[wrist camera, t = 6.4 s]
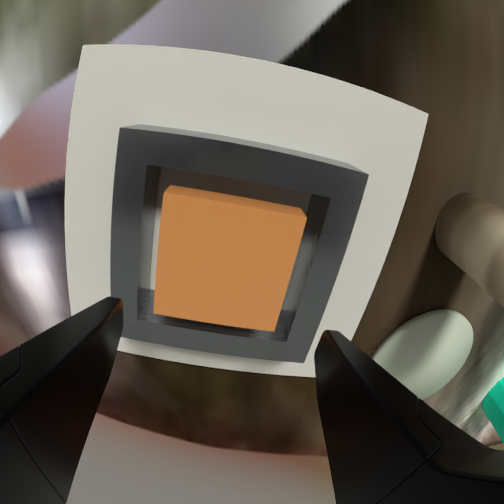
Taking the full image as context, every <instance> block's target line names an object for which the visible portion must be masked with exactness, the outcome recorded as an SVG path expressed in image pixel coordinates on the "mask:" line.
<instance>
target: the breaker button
mask: <svg viewBox="0 0 504 504" xmlns="http://www.w3.org/2000/svg"><path fill="white" fill-rule="evenodd" d="M306 220H307V217H306V216H305V214H304V212H303V211H302V209H301V208H298V207H293V206H288V205H283V204H278V203H273V202H267V201H262V200H257V199H251V198H246V197H240V196H235V195H229V194H223V193H218V192H212V191H206V190H200V189H194V188H187V187H181V186H175V185H170V186H169V187H168V188H167V189H166V191H165V192H164V195H163V203H162V211H161V221H160V230H159V241H158V252H157V264H156V278H155V293H154V314H159V315H165V316H170V317H176V318H182V319H188V320H194V321H200V322H207V323H213V324H220V325H227V326H234V327H241V328H249V329H256V330H264V331H272V332H274V331H275V327H276V324H277V321H278V317H279V314H280V311H281V308H282V304H283V301H284V298H285V294H286V291H287V287H288V284H289V281H290V277H291V274H292V270H293V267H294V263H295V260H296V256H297V253H298V249H299V246H300V242H301V238H302V235H303V231H304V227H305V224H306Z"/></svg>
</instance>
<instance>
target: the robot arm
mask: <svg viewBox="0 0 504 504" xmlns="http://www.w3.org/2000/svg"><path fill="white" fill-rule="evenodd" d="M122 330H123V301H122V299H120V298H116V297H111V296H108V297H106V298H104V299H102V300H100V301H98V302H97V303H95V304H93V305H91V306H89V307H87V308H86V309H84V310H82V311H80V312H78V313H76V314H75V315H73V316H71V317H69V318H67V319H66V320H64V321H62V322H60V323H58V324H57V325H55V326H53V327H51V328H49V329H48V330H46V331H44V332H42V333H40V334H39V335H37V336H35V337H33V338H32V339H30V340H28V341H26V342H25V343H23V344H21V345H20V347H18V346H17V347H16V348H14V349H12V350H10V351H9V352H7V353H5V354H3V355H1V356H0V504H66V502H67V499H68V495H69V492H70V488H71V485H72V482H73V478H74V475H75V472H76V469H77V466H78V463H79V460H80V457H81V453H82V451H83V448H84V445H85V442H86V439H87V436H88V433H89V430H90V428H91V425H92V422H93V419H94V417H95V414H96V411H97V409H98V406H99V403H100V401H101V398H102V395H103V393H104V390H105V388H106V385H107V383H108V380H109V377H110V374H111V371H112V367H113V363H114V359H115V356H116V352H117V348H118V345H119V341H120V338H121V334H122ZM314 364H315V376H316V389H317V401H318V407H319V412H320V417H321V422H322V428H323V433H324V438H325V443H326V449H327V454H328V459H329V464H330V470H331V476H332V482H333V487H334V493H335V499H336V504H504V450H496V449H492V448H489V447H487V446H485V445H483V444H482V443H480V442H479V441H477V440H476V439H474V438H473V437H471V436H470V435H468V434H467V433H465V432H464V431H463V430H461V429H460V428H458V427H457V426H455V425H454V424H452V423H451V422H450V421H448V420H447V419H445V418H444V417H443V416H441V415H440V414H439V413H437V412H436V411H435V410H434V409H432V408H431V407H430V406H428V405H427V404H426V403H425V402H424V401H422V400H421V399H420V398H418V397H417V396H416V395H415V394H414V393H413V392H411V391H410V390H409V389H408V388H407V387H405V386H404V385H403V384H402V383H401V382H399V381H398V380H397V379H396V378H395V377H393V376H392V375H391V374H390V373H389V372H387V371H386V370H385V369H384V368H382V367H381V366H380V365H379V364H378V363H376V362H375V361H374V360H373V359H372V358H370V357H369V356H368V355H367V354H366V353H364V352H363V351H362V350H361V349H360V348H358V347H357V346H356V345H355V344H354V343H352V342H351V341H350V340H349V339H348V338H346V337H345V336H344V335H343V334H342V333H340V332H339V331H337V330H325V331H324V332H323V333H322V335H321V338H320V340H319V343H318V345H317V347H316V350H315V353H314Z"/></svg>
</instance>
